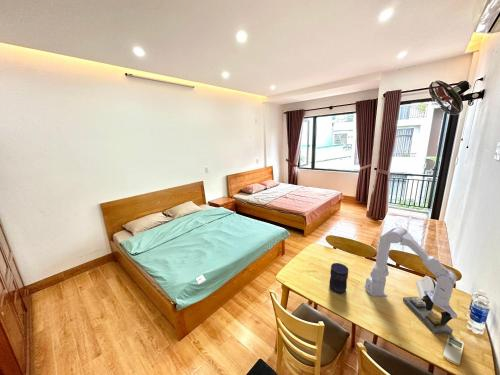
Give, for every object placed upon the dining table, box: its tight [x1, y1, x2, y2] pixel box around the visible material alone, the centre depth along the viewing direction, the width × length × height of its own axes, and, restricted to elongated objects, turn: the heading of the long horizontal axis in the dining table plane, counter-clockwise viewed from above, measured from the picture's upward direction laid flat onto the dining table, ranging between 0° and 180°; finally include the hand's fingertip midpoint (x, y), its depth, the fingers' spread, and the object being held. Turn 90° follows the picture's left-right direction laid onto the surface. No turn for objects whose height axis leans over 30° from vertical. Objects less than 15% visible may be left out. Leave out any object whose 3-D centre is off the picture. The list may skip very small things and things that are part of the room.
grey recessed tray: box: [402, 296, 454, 336], centre depth 103 cm, size 8×20×2 cm, turn 2°
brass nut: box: [427, 312, 442, 326], centre depth 98 cm, size 4×4×6 cm
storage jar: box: [328, 262, 349, 295], centre depth 122 cm, size 10×10×15 cm
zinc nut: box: [411, 296, 426, 309], centre depth 108 cm, size 4×4×6 cm
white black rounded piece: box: [415, 275, 437, 301], centre depth 117 cm, size 17×5×10 cm, turn 149°
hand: (435, 316), depth 98 cm, fingers open, 7 cm apart
